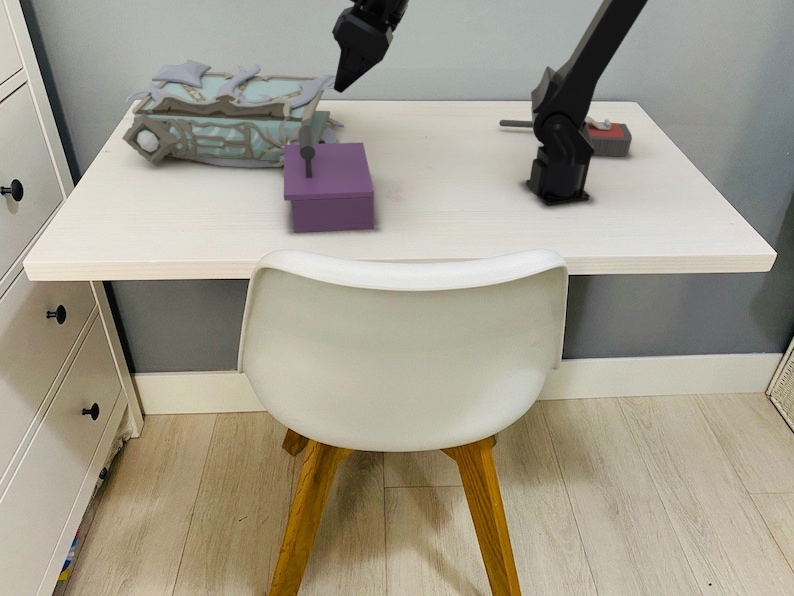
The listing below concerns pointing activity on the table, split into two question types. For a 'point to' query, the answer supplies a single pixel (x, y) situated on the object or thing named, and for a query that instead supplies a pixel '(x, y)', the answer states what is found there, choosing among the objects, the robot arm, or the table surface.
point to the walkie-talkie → (596, 135)
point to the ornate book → (227, 115)
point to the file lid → (325, 170)
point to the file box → (333, 214)
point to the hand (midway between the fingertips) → (344, 78)
